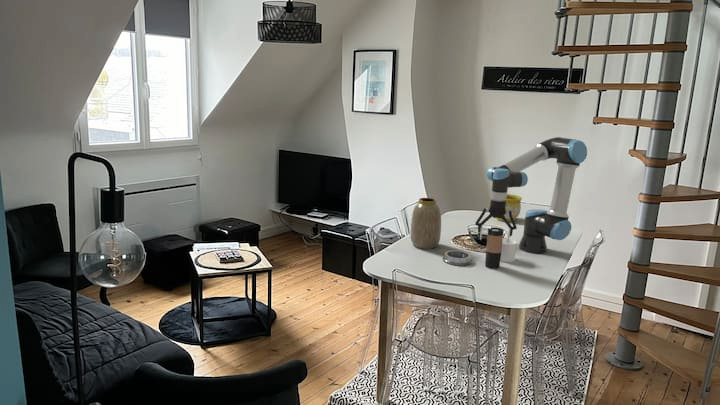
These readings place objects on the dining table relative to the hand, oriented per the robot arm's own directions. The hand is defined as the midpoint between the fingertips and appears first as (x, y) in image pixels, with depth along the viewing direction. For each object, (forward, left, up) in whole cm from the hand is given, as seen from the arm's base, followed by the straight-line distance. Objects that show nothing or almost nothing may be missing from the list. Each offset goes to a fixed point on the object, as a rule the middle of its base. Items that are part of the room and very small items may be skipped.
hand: (494, 240), depth 267 cm
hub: (+18, -3, -14) cm, 23 cm away
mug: (-7, -15, -14) cm, 22 cm away
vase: (+38, -24, -14) cm, 47 cm away
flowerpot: (-8, -101, -14) cm, 103 cm away
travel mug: (0, 0, -14) cm, 14 cm away
